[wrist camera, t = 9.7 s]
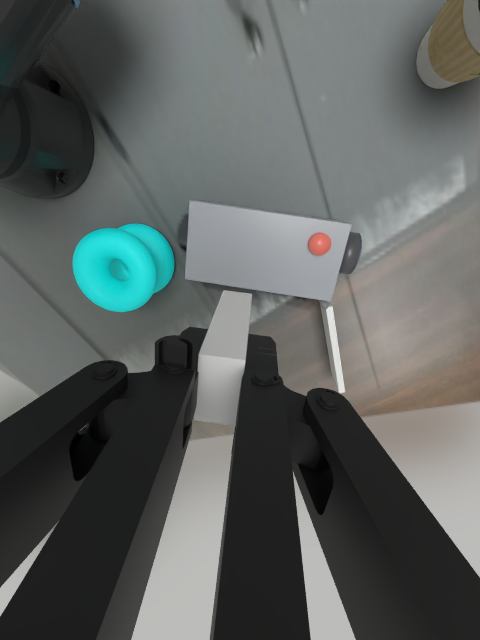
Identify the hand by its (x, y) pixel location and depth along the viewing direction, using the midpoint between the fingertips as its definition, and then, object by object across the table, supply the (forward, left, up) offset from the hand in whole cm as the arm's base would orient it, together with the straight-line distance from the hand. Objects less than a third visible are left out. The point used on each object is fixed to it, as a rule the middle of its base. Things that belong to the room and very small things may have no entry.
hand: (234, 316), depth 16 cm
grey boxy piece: (+2, 0, -27) cm, 27 cm away
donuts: (-16, -4, -27) cm, 32 cm away
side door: (+12, -11, -27) cm, 31 cm away
